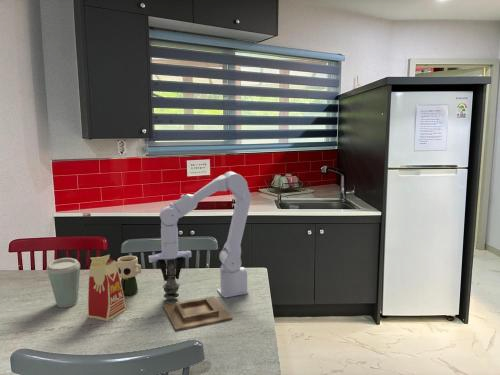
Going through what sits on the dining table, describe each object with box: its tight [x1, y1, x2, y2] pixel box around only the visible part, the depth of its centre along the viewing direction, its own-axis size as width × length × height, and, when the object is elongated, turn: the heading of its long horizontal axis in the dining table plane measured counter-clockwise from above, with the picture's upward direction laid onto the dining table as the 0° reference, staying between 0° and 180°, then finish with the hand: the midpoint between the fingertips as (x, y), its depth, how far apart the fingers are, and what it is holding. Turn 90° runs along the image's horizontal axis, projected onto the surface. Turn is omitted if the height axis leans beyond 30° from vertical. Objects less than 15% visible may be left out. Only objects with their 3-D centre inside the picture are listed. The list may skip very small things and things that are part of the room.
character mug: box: [115, 255, 142, 296], centre depth 146 cm, size 11×7×13 cm, turn 71°
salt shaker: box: [162, 262, 180, 299], centre depth 140 cm, size 6×6×12 cm
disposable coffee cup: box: [46, 257, 81, 308], centre depth 136 cm, size 11×11×15 cm
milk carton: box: [87, 254, 127, 322], centre depth 129 cm, size 9×9×20 cm
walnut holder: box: [162, 295, 233, 332], centre depth 130 cm, size 18×18×2 cm
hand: (171, 279), depth 140 cm, fingers closed on salt shaker, 4 cm apart
